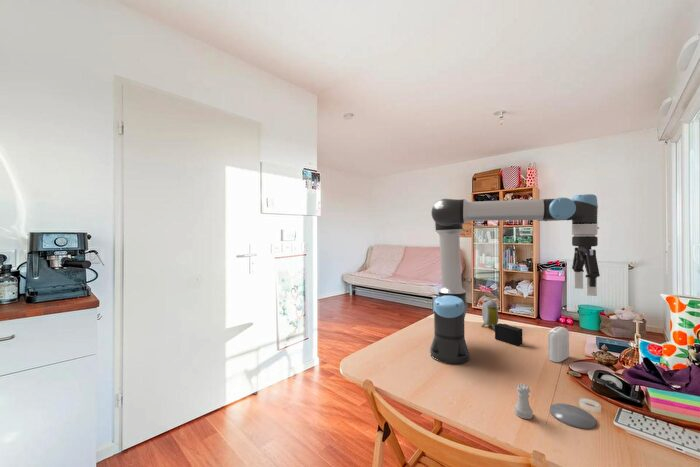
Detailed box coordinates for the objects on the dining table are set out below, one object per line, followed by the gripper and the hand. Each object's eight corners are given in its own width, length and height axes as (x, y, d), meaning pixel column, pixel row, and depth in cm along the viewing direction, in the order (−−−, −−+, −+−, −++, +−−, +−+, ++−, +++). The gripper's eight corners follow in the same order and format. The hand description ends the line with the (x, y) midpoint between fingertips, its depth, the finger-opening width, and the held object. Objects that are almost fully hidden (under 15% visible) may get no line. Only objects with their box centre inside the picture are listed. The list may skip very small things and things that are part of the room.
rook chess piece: (525, 421, 78) (525, 391, 78) (510, 412, 82) (510, 384, 82) (536, 417, 80) (536, 388, 79) (521, 408, 84) (521, 380, 84)
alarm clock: (498, 331, 146) (498, 301, 146) (484, 330, 148) (484, 301, 148) (492, 323, 158) (491, 296, 158) (478, 323, 159) (478, 296, 159)
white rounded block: (558, 353, 119) (558, 323, 119) (570, 357, 116) (570, 326, 116) (546, 360, 114) (546, 328, 114) (559, 364, 110) (559, 331, 110)
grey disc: (554, 423, 77) (554, 420, 77) (546, 402, 86) (546, 400, 86) (602, 432, 73) (602, 430, 73) (588, 410, 82) (588, 408, 82)
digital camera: (524, 343, 130) (524, 328, 130) (518, 346, 127) (518, 330, 127) (501, 337, 139) (501, 322, 139) (495, 339, 136) (494, 324, 136)
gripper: (611, 236, 97) (611, 299, 97) (584, 235, 120) (584, 286, 120) (584, 236, 100) (584, 298, 100) (562, 235, 123) (563, 285, 123)
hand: (584, 291), depth 110 cm, fingers open, 13 cm apart
